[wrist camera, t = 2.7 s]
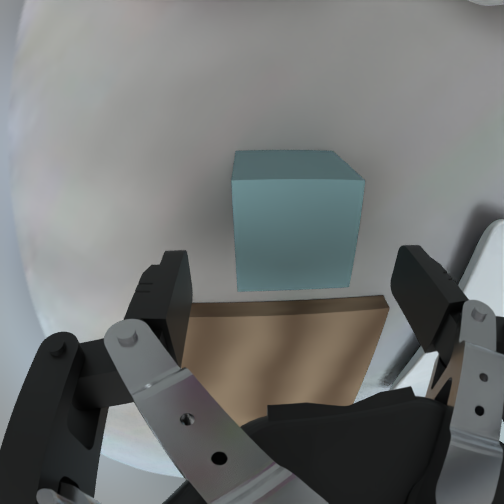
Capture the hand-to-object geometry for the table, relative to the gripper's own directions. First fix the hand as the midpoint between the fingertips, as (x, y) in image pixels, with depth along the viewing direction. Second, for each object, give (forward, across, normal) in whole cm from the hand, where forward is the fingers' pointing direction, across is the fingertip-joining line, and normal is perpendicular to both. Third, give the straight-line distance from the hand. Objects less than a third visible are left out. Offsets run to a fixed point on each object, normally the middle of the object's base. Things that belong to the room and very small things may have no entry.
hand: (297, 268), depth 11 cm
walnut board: (+8, -1, +17) cm, 19 cm away
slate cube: (+8, 0, 0) cm, 8 cm away
